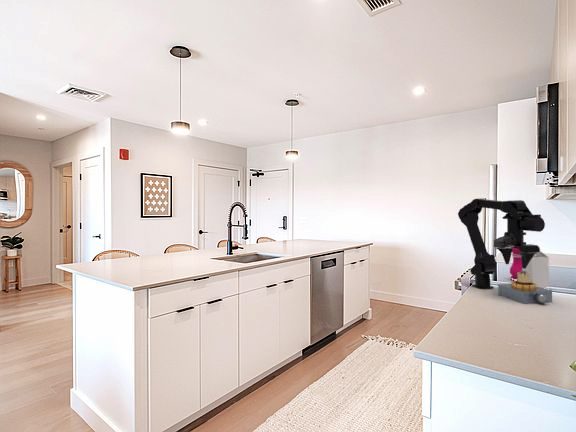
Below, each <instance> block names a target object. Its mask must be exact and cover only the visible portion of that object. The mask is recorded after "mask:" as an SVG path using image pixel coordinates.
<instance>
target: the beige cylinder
mask: <svg viewBox="0 0 576 432" xmlns="http://www.w3.org/2000/svg"><path fill="white" fill-rule="evenodd" d="M517 284H522V285H530V273H527V272H526V271H521V272H517Z"/></svg>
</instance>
